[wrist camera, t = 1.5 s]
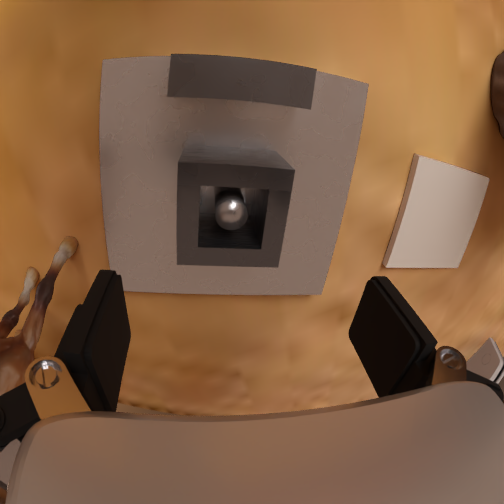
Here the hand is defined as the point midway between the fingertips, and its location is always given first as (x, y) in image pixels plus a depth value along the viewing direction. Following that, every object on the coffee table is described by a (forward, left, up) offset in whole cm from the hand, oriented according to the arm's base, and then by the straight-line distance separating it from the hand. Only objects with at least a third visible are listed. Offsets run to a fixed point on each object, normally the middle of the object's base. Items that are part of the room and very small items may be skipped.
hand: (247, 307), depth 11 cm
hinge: (+30, +47, -14) cm, 57 cm away
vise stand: (-1, 0, -13) cm, 13 cm away
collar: (-1, 0, -12) cm, 12 cm away
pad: (0, +21, -13) cm, 25 cm away
